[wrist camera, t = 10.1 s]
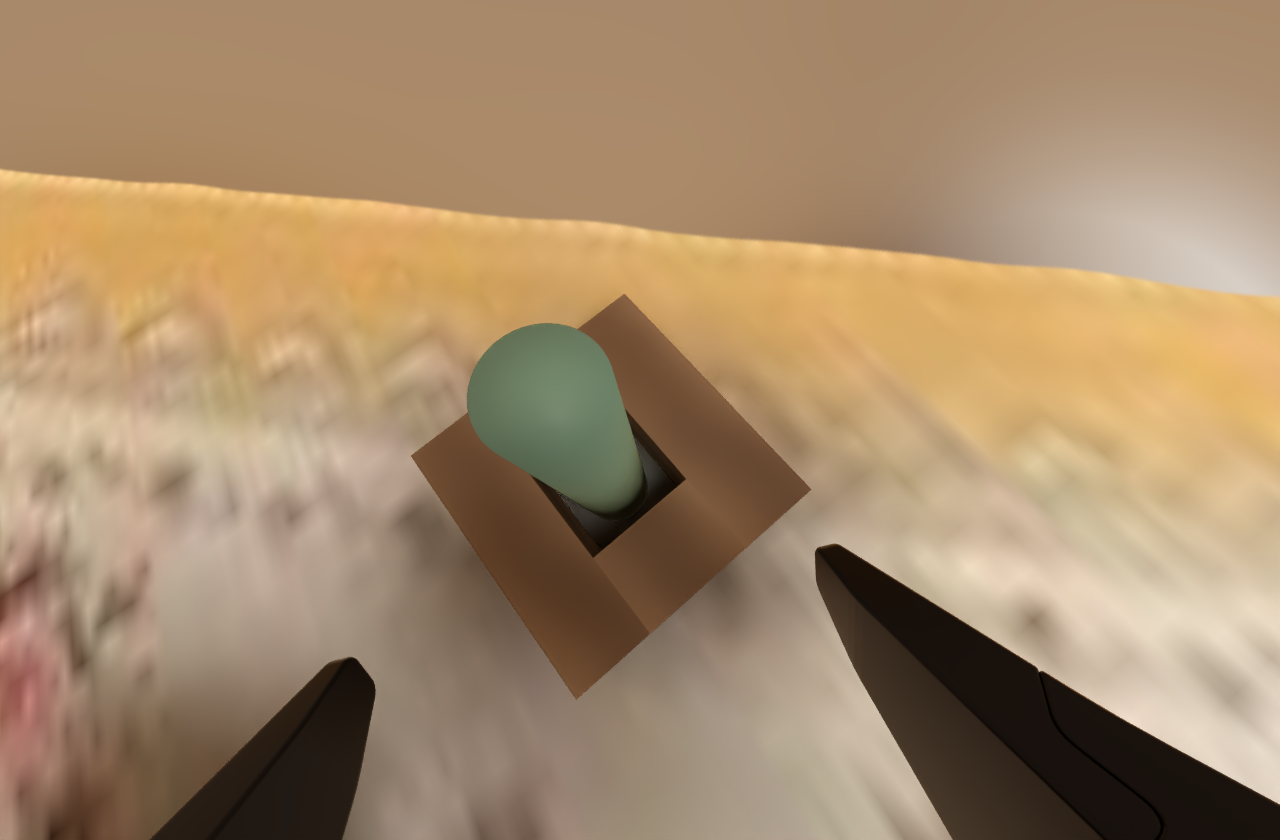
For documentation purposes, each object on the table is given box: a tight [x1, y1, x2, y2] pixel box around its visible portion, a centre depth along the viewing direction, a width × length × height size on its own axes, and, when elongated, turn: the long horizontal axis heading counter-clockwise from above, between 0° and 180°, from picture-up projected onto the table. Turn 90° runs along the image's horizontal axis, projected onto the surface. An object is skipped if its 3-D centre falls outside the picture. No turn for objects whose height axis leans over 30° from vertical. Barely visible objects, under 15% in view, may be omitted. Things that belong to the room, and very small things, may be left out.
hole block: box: [411, 294, 811, 700], centre depth 20 cm, size 11×11×4 cm
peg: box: [467, 323, 648, 520], centre depth 16 cm, size 3×3×13 cm
